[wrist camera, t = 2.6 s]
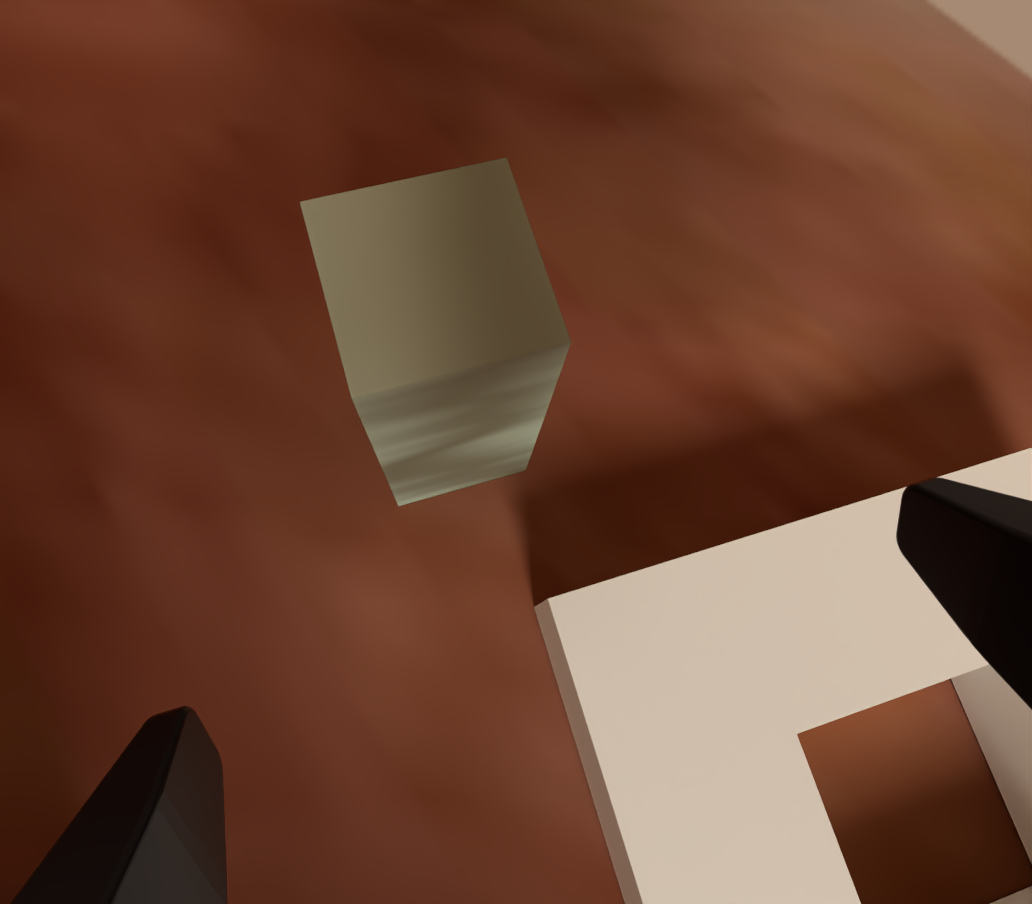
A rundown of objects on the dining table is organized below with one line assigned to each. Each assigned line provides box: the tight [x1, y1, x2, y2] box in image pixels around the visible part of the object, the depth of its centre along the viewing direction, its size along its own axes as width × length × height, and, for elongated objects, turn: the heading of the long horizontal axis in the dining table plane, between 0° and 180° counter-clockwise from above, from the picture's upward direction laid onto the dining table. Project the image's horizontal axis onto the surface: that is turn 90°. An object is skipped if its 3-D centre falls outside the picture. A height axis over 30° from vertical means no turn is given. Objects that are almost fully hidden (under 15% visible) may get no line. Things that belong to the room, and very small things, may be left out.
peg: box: [300, 157, 571, 506], centre depth 18 cm, size 4×4×10 cm
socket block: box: [534, 448, 1032, 904], centre depth 18 cm, size 16×16×4 cm
